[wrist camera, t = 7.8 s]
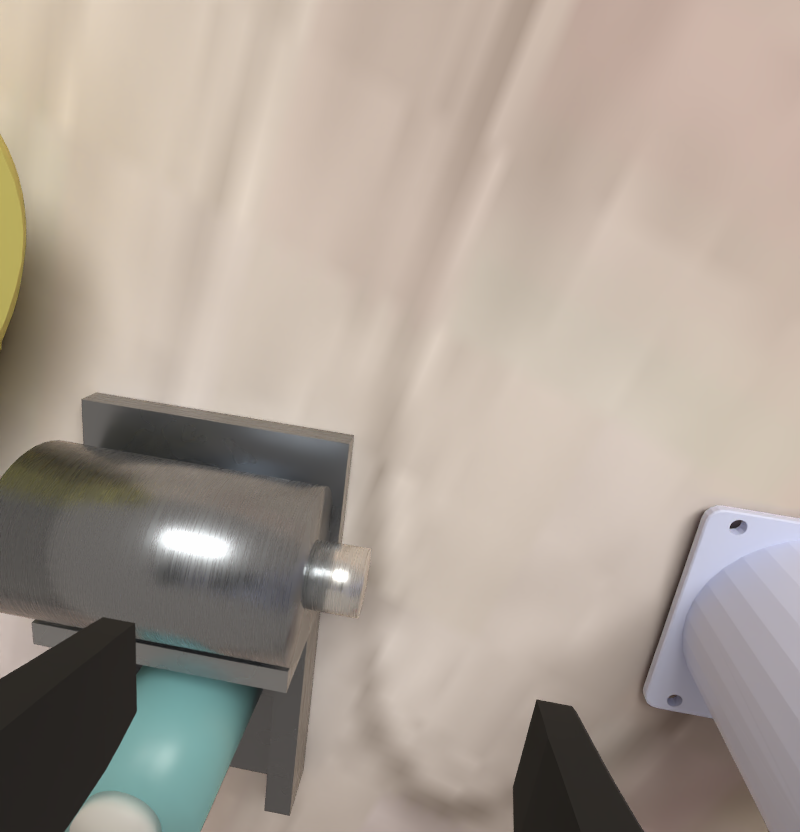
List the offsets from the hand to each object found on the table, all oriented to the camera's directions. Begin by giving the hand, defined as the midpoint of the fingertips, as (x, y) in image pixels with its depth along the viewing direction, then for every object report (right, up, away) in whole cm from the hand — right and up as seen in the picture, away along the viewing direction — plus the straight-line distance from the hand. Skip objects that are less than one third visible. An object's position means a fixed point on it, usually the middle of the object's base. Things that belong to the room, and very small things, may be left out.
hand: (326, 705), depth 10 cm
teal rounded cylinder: (-6, -5, +12) cm, 15 cm away
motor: (-5, -2, +12) cm, 13 cm away
